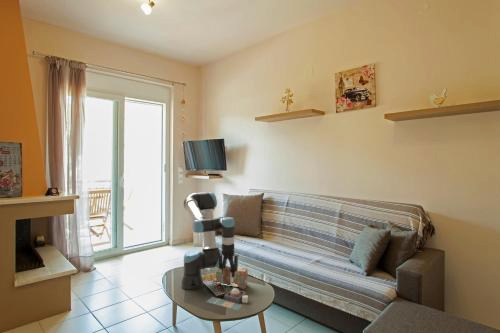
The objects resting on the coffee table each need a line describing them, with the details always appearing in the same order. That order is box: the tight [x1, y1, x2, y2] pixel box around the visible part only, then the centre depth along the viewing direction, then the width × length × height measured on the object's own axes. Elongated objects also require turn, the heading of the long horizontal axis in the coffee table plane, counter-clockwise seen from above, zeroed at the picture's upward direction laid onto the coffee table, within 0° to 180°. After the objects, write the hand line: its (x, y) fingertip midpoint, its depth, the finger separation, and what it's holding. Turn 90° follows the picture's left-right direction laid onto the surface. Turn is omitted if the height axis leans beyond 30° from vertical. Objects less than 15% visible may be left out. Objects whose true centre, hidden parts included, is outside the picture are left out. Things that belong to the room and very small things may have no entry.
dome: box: [229, 287, 241, 297], centre depth 185 cm, size 7×7×5 cm
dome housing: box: [224, 288, 247, 304], centre depth 185 cm, size 10×10×3 cm
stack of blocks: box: [215, 266, 248, 290], centre depth 204 cm, size 21×6×12 cm, turn 73°
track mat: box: [206, 296, 243, 311], centre depth 178 cm, size 22×7×1 cm, turn 64°
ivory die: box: [241, 294, 249, 304], centre depth 181 cm, size 3×3×3 cm
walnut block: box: [223, 265, 233, 285], centre depth 176 cm, size 4×4×9 cm
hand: (228, 281), depth 176 cm, fingers closed on walnut block, 4 cm apart
